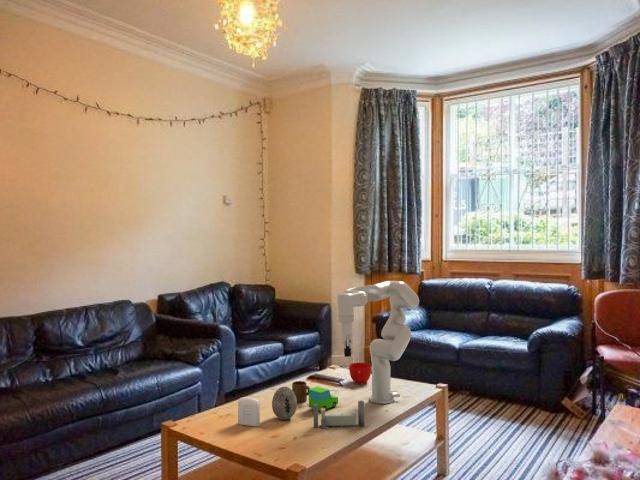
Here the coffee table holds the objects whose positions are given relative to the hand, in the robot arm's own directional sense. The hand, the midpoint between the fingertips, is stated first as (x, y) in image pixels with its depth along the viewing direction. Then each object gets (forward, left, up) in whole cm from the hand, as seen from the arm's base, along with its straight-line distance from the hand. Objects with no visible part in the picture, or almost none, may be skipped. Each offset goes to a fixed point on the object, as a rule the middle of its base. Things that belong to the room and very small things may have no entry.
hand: (347, 356), depth 241 cm
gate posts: (+6, +19, -27) cm, 33 cm away
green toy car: (+12, -7, -28) cm, 31 cm away
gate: (+6, +18, -26) cm, 32 cm away
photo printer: (+47, +13, -28) cm, 56 cm away
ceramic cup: (-10, -46, -28) cm, 55 cm away
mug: (+23, -16, -28) cm, 39 cm away
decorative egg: (+31, +7, -28) cm, 42 cm away
